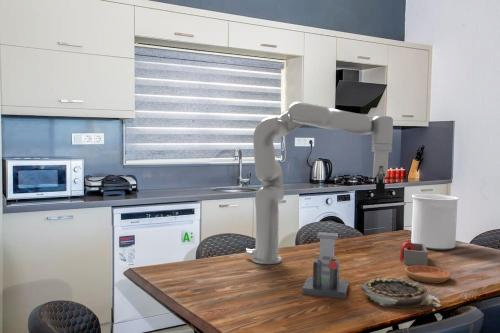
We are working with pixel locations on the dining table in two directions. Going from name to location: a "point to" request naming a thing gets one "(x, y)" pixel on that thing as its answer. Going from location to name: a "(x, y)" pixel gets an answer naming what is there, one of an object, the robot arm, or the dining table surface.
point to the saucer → (427, 274)
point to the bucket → (434, 221)
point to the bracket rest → (416, 255)
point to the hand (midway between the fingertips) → (380, 192)
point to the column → (326, 255)
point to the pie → (397, 292)
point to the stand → (335, 287)
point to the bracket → (405, 245)
